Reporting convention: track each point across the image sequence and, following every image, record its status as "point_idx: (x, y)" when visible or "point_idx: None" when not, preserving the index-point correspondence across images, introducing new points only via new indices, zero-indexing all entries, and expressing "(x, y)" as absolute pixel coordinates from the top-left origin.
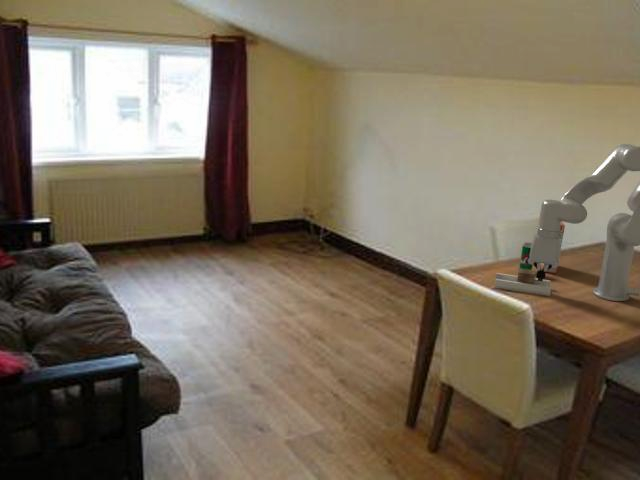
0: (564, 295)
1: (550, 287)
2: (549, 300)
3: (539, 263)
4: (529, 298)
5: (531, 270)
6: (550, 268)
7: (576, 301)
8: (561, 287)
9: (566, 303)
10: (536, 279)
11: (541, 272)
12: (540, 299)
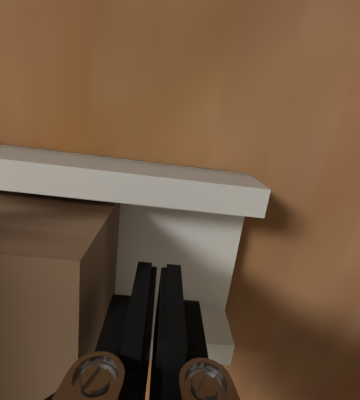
0: (317, 275)
1: (226, 356)
2: None
3: None
4: None
5: (26, 285)
6: None
7: (355, 345)
8: (356, 109)
9: (286, 387)
10: (136, 203)
11: (156, 333)
12: None
